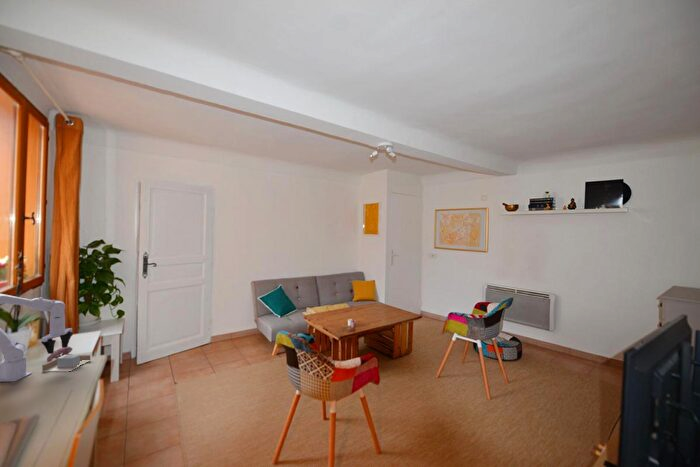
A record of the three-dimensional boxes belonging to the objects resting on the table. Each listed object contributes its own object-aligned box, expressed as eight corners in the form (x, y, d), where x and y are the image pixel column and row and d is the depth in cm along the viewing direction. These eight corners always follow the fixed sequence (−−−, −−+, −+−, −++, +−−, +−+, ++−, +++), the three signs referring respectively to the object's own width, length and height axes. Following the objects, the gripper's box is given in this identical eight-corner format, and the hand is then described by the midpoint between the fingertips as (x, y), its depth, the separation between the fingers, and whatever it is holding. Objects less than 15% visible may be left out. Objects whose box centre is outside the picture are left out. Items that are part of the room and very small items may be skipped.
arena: (42, 371, 152) (42, 364, 151) (64, 361, 164) (64, 354, 163) (70, 371, 152) (70, 365, 152) (90, 361, 164) (90, 354, 164)
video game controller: (51, 364, 163) (55, 353, 162) (45, 360, 163) (49, 349, 163) (71, 356, 172) (75, 346, 172) (65, 352, 173) (69, 342, 172)
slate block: (72, 367, 155) (72, 358, 155) (57, 367, 155) (57, 358, 154) (79, 364, 159) (79, 354, 159) (64, 364, 159) (64, 354, 158)
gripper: (51, 329, 148) (51, 356, 148) (77, 320, 162) (78, 344, 163) (37, 329, 148) (37, 356, 148) (64, 320, 162) (64, 344, 163)
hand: (57, 350), depth 155 cm, fingers open, 7 cm apart
